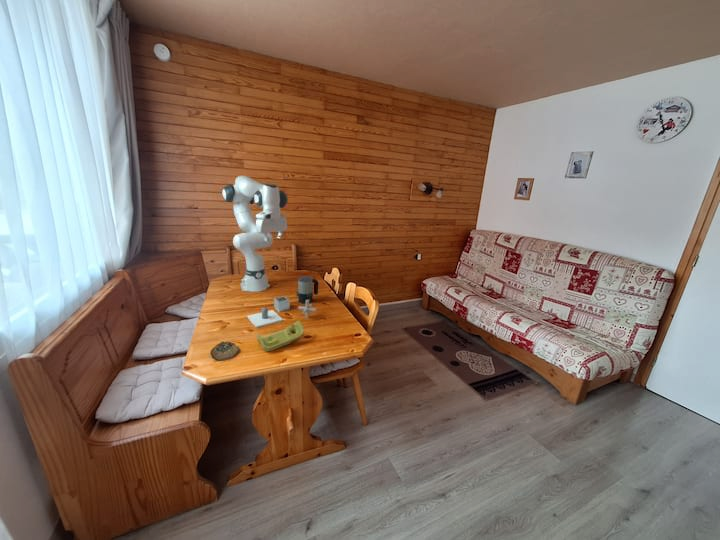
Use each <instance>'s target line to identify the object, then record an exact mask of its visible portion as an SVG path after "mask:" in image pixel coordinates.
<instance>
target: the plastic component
mask: <svg viewBox="0 0 720 540" xmlns="http://www.w3.org/2000/svg"><path fill="white" fill-rule="evenodd" d="M304 328H305V327H304V326H303V324H302V323H301V321H300V320H297V321H295V322H294V323H293V324H291V325H288V326H287V327H286V328H284V329H282V330H279V331H277V332H273V333H270V334H268V335H265V336H261V334H260V333H258V334H257V337H256V339H257V341H258V342H259V343H260V346H261V347H262V349H263V350H264V351H265V352H271V351H274V350H276V349H279V348H281V347H284V346H288V345H289V344H291V342H293V341H295V340H298V339H299V338H300V337H301V336H302V335H303V334H304V332H305V329H304Z"/></svg>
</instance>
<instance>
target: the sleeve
mask: <svg viewBox="0 0 720 540" xmlns="http://www.w3.org/2000/svg"><path fill="white" fill-rule="evenodd" d="M273 306H274V307H273V308H274V309H275V310H276V311H277V312H280V313H281V312H285V311H288V310H290V309H291V307H290V299H289V298H288V297H286V296H285V295H283V296H278V297H275V298H273Z"/></svg>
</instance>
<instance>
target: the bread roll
mask: <svg viewBox="0 0 720 540" xmlns="http://www.w3.org/2000/svg"><path fill="white" fill-rule="evenodd" d="M239 351H240V347H239V346H238V345H237V344H235V343H233V342H230V341H221V342H220V343H218V344H216V345H215V346H214V347H212V348H211V350H210V356H211V357H212V358H213V359H214V360H216V361H225V360H228V359H231V358H233V357H234V356H235V355H236V354H237V353H238V352H239Z"/></svg>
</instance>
